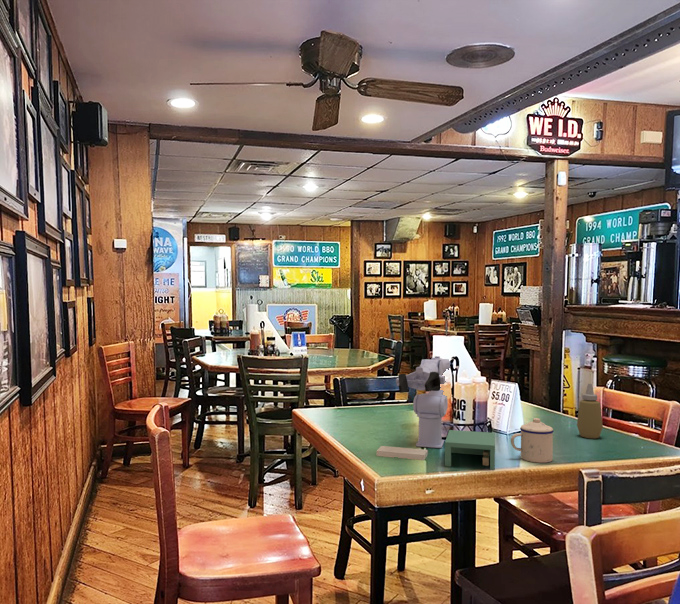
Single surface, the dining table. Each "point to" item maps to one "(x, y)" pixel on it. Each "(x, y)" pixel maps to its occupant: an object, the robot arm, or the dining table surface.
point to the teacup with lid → (535, 442)
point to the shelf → (471, 445)
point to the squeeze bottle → (589, 415)
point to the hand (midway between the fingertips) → (413, 388)
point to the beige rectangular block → (402, 452)
